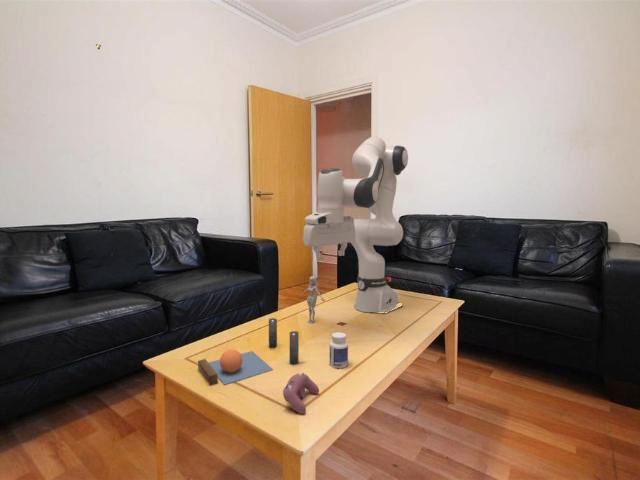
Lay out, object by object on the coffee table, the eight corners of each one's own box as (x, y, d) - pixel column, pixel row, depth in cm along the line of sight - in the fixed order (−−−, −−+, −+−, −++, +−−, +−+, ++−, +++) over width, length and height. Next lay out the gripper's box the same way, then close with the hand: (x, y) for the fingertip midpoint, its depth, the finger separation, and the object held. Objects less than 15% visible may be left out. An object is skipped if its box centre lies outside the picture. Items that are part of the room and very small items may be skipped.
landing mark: (252, 351, 107) (252, 350, 107) (273, 370, 96) (273, 369, 96) (206, 363, 99) (206, 362, 99) (224, 385, 87) (224, 384, 87)
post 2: (295, 359, 102) (295, 330, 101) (300, 363, 100) (300, 333, 99) (287, 362, 100) (287, 332, 99) (292, 365, 98) (292, 335, 97)
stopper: (205, 367, 97) (205, 358, 96) (217, 383, 89) (217, 373, 88) (198, 369, 95) (198, 360, 95) (209, 385, 87) (209, 376, 87)
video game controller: (306, 395, 86) (294, 369, 86) (321, 391, 84) (309, 364, 85) (289, 419, 77) (276, 390, 77) (306, 414, 75) (293, 385, 76)
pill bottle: (351, 364, 99) (352, 335, 98) (339, 370, 96) (339, 340, 95) (337, 358, 103) (338, 329, 102) (325, 364, 99) (326, 334, 98)
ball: (216, 368, 95) (237, 364, 99) (223, 378, 90) (245, 373, 94) (217, 348, 95) (237, 344, 98) (224, 357, 90) (246, 352, 93)
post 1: (274, 344, 112) (274, 317, 111) (278, 347, 110) (278, 320, 109) (267, 346, 111) (267, 319, 110) (271, 349, 109) (271, 321, 108)
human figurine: (297, 319, 136) (297, 274, 134) (304, 317, 138) (304, 273, 136) (320, 327, 128) (320, 279, 126) (326, 324, 130) (327, 278, 128)
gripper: (347, 215, 125) (347, 252, 127) (300, 218, 113) (301, 259, 115) (359, 216, 120) (359, 255, 122) (311, 219, 108) (311, 262, 110)
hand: (330, 257), depth 118 cm, fingers open, 8 cm apart
